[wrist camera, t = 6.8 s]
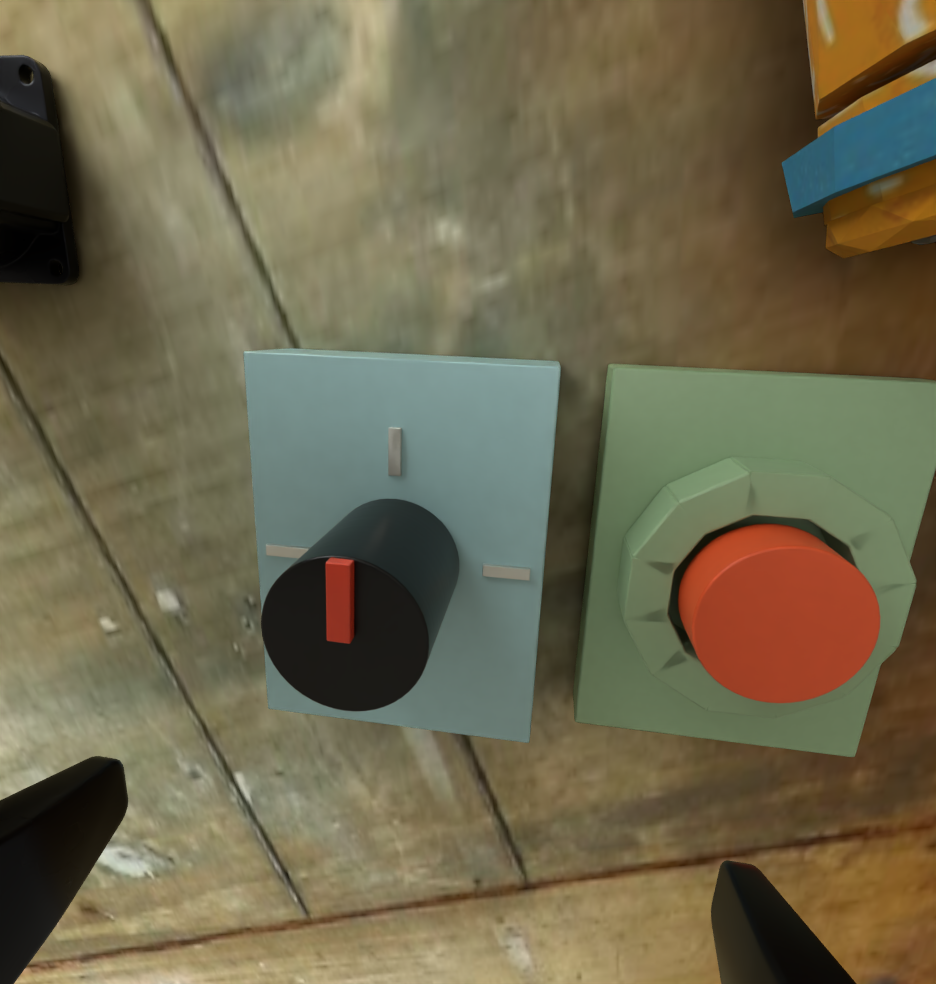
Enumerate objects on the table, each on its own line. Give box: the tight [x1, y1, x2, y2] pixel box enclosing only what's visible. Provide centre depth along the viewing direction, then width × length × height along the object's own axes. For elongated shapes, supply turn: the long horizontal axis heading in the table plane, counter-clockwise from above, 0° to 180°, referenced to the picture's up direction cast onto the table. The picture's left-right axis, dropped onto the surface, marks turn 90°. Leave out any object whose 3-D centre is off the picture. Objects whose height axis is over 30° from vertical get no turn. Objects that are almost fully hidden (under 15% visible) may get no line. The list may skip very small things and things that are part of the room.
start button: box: [678, 524, 880, 703], centre depth 15 cm, size 4×4×2 cm
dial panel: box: [244, 348, 561, 743], centre depth 19 cm, size 9×12×3 cm
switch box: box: [573, 364, 936, 757], centre depth 17 cm, size 9×12×4 cm
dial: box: [261, 499, 459, 712], centre depth 15 cm, size 4×4×5 cm
